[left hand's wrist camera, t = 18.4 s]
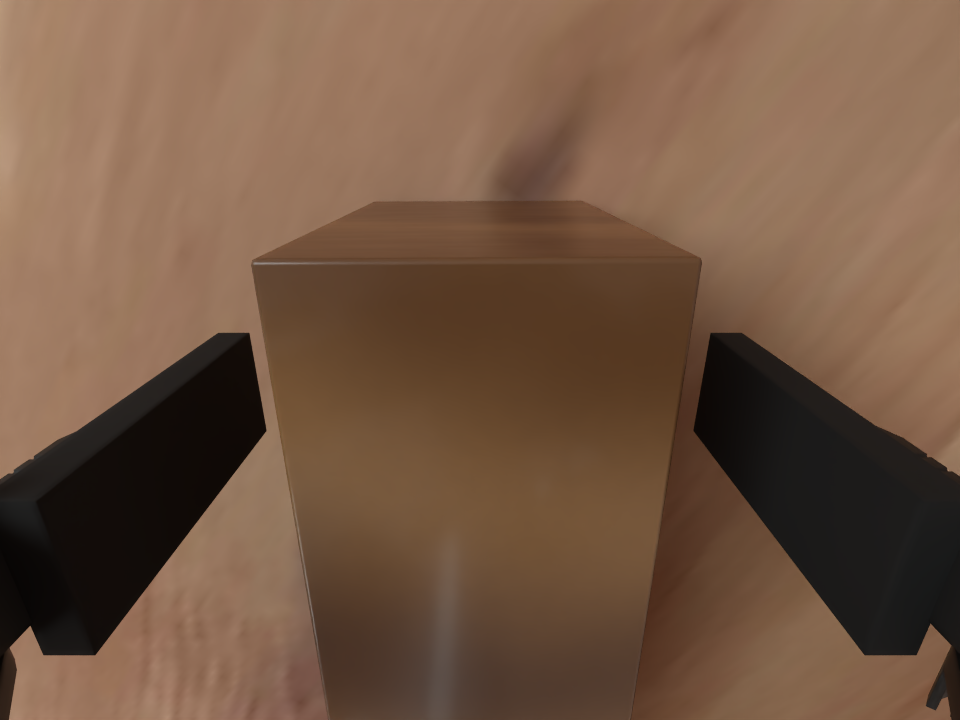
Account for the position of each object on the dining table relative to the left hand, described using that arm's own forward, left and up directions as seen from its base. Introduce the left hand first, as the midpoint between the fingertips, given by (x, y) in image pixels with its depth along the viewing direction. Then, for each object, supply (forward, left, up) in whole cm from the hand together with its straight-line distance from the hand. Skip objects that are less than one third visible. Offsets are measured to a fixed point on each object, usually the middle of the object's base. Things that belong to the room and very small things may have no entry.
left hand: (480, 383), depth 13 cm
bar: (-2, +7, -3) cm, 8 cm away
